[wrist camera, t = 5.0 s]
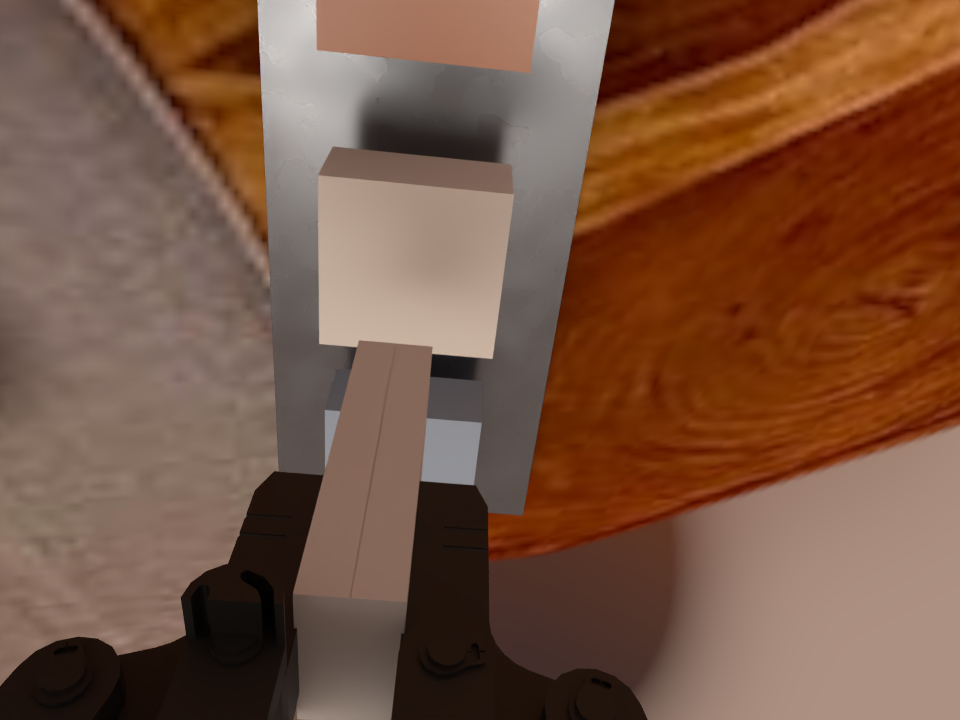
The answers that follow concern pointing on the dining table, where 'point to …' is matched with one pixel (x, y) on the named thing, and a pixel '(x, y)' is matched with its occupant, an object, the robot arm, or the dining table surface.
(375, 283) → the white key
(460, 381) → the blue key
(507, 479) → the console
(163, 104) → the dining table surface
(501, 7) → the terracotta key
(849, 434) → the dining table surface
